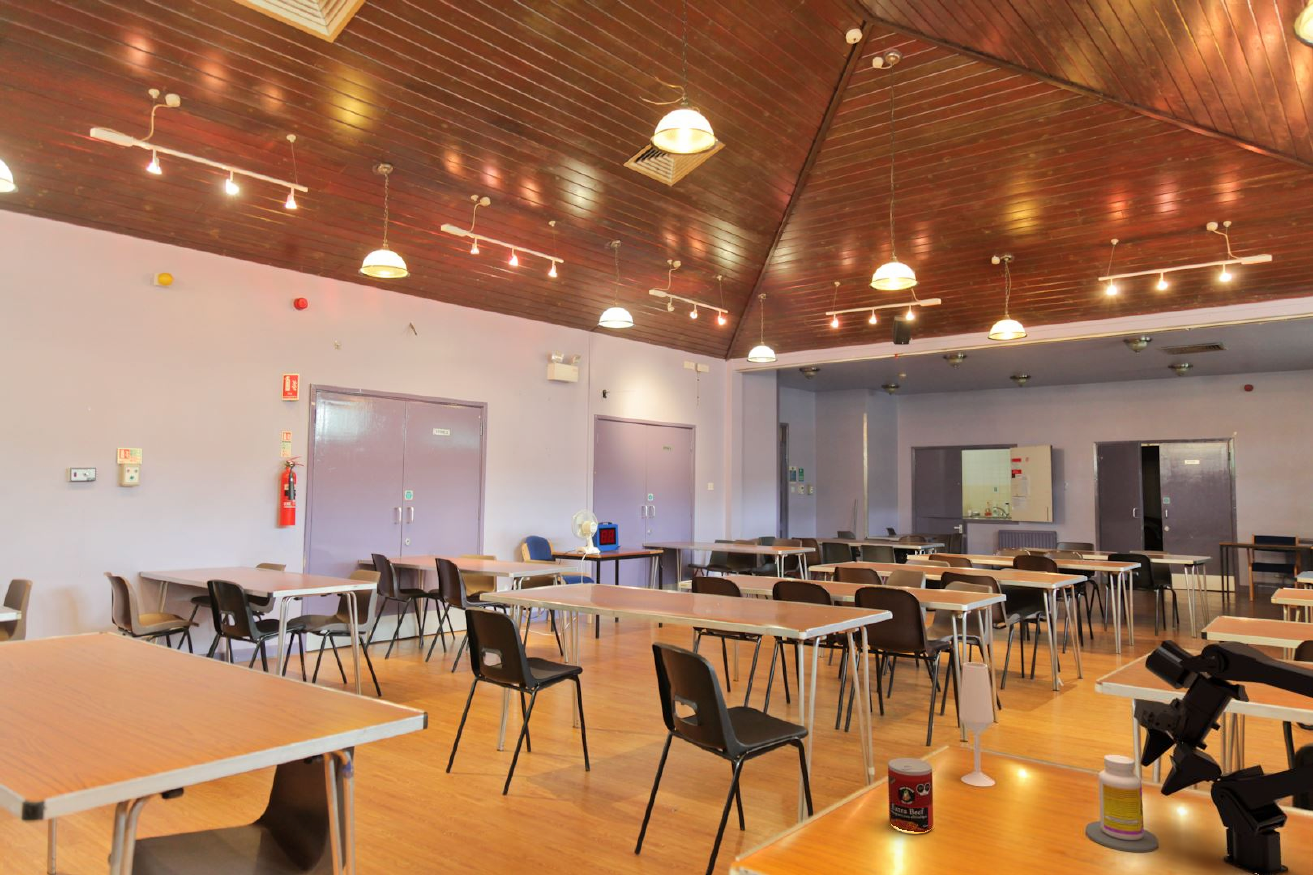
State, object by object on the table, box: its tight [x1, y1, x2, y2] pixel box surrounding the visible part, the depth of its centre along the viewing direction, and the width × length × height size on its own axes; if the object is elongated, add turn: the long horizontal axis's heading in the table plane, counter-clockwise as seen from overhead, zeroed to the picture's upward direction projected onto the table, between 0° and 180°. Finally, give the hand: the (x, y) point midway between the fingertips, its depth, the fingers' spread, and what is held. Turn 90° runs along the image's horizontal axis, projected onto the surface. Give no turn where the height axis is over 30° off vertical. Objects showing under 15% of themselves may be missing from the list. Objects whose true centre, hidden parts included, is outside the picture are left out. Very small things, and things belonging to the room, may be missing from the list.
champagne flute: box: [959, 661, 996, 787], centre depth 173 cm, size 7×7×24 cm
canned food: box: [887, 757, 934, 832], centre depth 149 cm, size 8×8×11 cm
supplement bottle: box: [1098, 754, 1145, 840], centre depth 144 cm, size 7×7×13 cm
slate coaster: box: [1085, 820, 1159, 853], centre depth 144 cm, size 11×11×1 cm
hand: (1153, 779), depth 144 cm, fingers open, 9 cm apart
